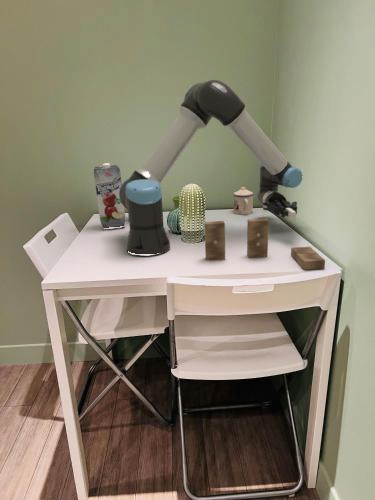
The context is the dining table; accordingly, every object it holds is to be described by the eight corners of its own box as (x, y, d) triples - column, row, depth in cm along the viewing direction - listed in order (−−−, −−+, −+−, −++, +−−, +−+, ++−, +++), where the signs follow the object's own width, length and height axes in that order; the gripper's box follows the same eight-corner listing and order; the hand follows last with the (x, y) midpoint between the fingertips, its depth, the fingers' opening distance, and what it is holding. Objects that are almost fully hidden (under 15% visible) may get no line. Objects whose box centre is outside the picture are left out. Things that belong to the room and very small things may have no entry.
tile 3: (290, 255, 118) (303, 270, 106) (291, 247, 117) (304, 261, 105) (309, 254, 118) (324, 269, 106) (310, 246, 117) (325, 260, 106)
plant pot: (196, 216, 170) (196, 197, 167) (178, 219, 166) (177, 200, 163) (186, 212, 178) (186, 194, 175) (169, 215, 173) (168, 197, 170)
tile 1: (206, 260, 117) (205, 224, 113) (205, 257, 119) (204, 222, 115) (225, 259, 117) (224, 223, 113) (224, 256, 119) (223, 220, 115)
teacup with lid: (231, 210, 176) (231, 186, 172) (250, 209, 177) (250, 185, 173) (236, 217, 165) (236, 191, 161) (256, 215, 166) (257, 189, 162)
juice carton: (100, 226, 161) (92, 162, 152) (124, 223, 164) (118, 161, 154) (101, 231, 153) (92, 165, 144) (126, 228, 155) (120, 163, 146)
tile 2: (248, 258, 117) (249, 221, 113) (247, 255, 120) (247, 219, 116) (267, 257, 117) (268, 220, 113) (265, 254, 120) (266, 218, 116)
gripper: (290, 210, 146) (312, 226, 124) (257, 211, 146) (273, 228, 123) (291, 191, 144) (314, 204, 121) (258, 192, 143) (274, 205, 121)
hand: (293, 216), depth 122 cm, fingers closed
